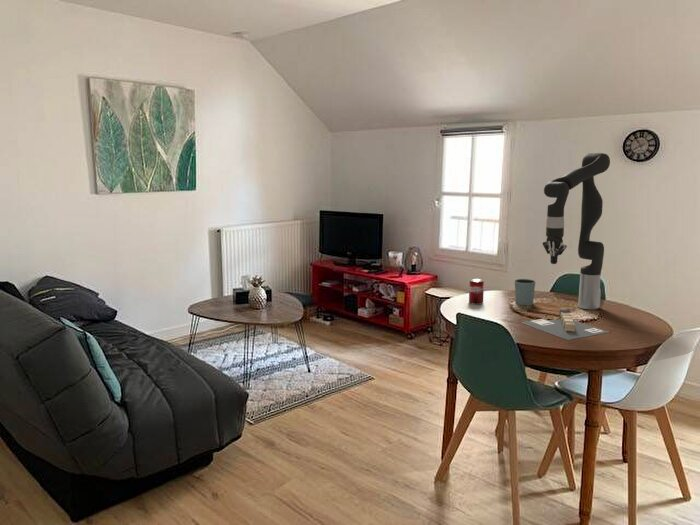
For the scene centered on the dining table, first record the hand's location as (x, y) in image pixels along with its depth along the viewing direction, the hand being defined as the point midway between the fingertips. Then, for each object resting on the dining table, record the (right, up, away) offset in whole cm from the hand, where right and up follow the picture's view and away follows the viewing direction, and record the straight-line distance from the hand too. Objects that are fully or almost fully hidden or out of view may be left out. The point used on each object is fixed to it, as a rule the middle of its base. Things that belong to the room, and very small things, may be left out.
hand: (553, 263), depth 247 cm
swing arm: (+3, -27, -8) cm, 28 cm away
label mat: (0, -28, -11) cm, 30 cm away
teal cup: (-4, -21, +29) cm, 36 cm away
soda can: (-28, -21, +32) cm, 47 cm away
